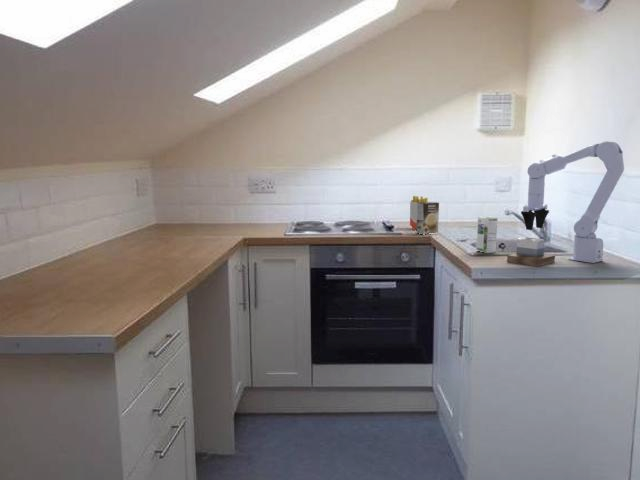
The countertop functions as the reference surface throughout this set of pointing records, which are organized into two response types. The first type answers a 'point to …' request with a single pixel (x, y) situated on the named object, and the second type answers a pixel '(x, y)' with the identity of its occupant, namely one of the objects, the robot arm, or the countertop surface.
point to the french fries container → (415, 210)
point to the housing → (530, 247)
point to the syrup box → (486, 234)
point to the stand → (531, 259)
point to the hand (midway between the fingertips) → (534, 228)
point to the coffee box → (427, 217)
